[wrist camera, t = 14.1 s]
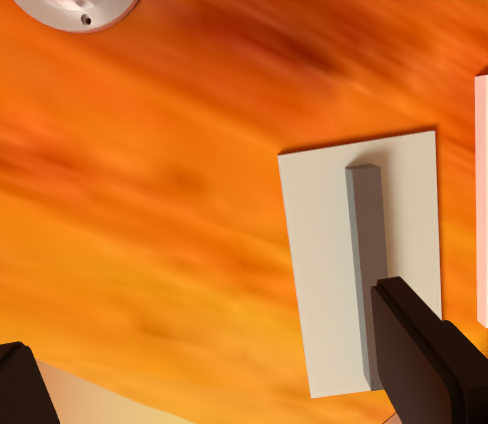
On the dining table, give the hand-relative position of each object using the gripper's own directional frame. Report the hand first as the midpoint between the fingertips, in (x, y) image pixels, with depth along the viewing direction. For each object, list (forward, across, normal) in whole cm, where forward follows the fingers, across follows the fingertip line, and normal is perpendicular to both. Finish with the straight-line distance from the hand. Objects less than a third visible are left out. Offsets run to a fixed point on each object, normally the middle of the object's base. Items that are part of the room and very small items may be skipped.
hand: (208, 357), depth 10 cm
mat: (+26, -12, +12) cm, 31 cm away
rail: (+25, -12, +12) cm, 30 cm away
